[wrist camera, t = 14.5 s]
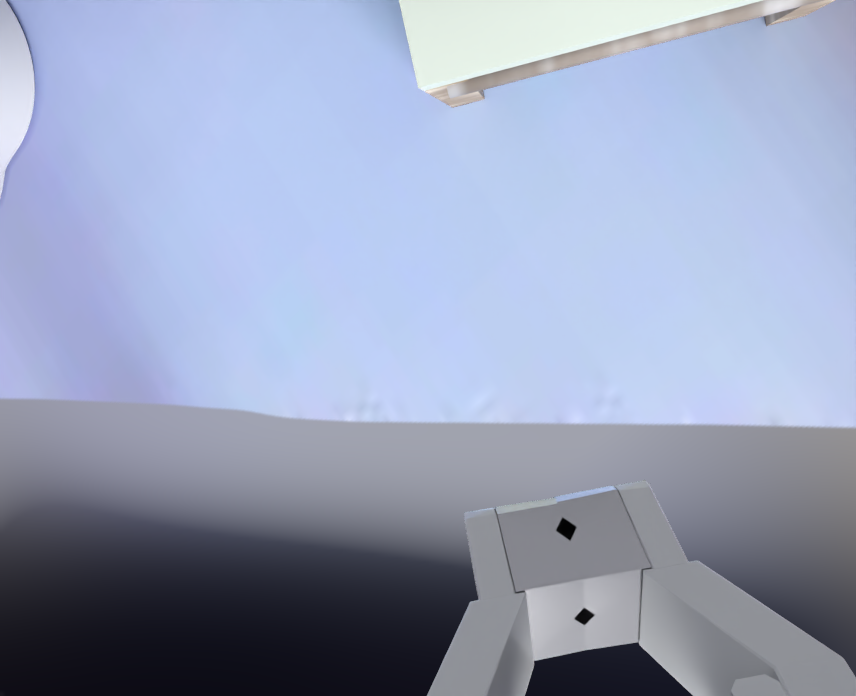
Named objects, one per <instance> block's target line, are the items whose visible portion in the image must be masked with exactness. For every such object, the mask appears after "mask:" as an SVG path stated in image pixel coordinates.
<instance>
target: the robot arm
mask: <svg viewBox="0 0 856 696" xmlns="http://www.w3.org/2000/svg"><path fill="white" fill-rule="evenodd" d="M34 94H35V83H34V71H33V64H32V59H31V55H30V51H29V47H28V44H27V41H26V38H25V35H24V33H23V30H22V28H21V26H20V24H19V22H18V20H17V18H16V16H15V14H14V13H13V11H12V9H11V8H10V6H9V5H8V3H7V2H6V0H0V197H1V193H2V188H3V182H4V175H5V170H6V167H7V165H8V163H9V162H10V160H11V158H12V157H13V155H14V154H15V152H16V151H17V149H18V148H19V146H20V144H21V143H22V141H23V139H24V137H25V135H26V132H27V129H28V127H29V124H30V120H31V116H32V111H33V105H34ZM464 519H465V520H464V521H465V526H466V532H467V537H468V543H469V549H470V555H471V560H472V566H473V571H474V577H475V582H476V588H477V593H478V599H479V600H477V601H472V602H470V604H469V606H468V608H467V610H466V612H465V615H464V617H463V619H462V621H461V623H460V625H459V628H458V630H457V632H456V634H455V636H454V638H453V641H452V643H451V645H450V647H449V649H448V651H447V654H446V656H445V658H444V660H443V662H442V664H441V667H440V669H439V671H438V674H437V675H436V678H435V680H434V682H433V684H432V686H431V688H430V690H429V693H428V695H427V696H525V692H526V689H527V686H528V683H529V679H530V676H531V673H532V670H533V666H534V661H535V660H540V659H545V658H550V657H555V656H559V655H564V654H569V653H574V652H578V651H583V650H589V649H595V648H602V647H609V646H615V645H621V644H628V643H634V642H639V645H640V646H641V647H642V648H643V649H644V650H646V651H647V652H648V653H649V654H650V655H651V656H652V657H653V658H654V659H655V660H656V661H657V662H658V663H659V664H661V666H662V667H664V668H665V669H666V670H667V671H668V672H669V673H670V674H671V675H672V676H673V677H674V678H675V679H676V680H677V681H678V682H679V683H681V685H683V686H684V687H685V688H686V689H687V690H688V691H689V692H690V693H691V694H692V695H693V696H856V678H855V676H854V674H853V673H852V671H851V670H850V668H849V666H848V665H847V663H846V662H845V660H844V658H842V657H841V656H840V655H838V654H836V653H835V652H834V651H832V650H830V649H829V648H828V647H826V646H824V645H823V644H822V643H820V642H819V641H817V640H815V639H814V638H813V637H811V636H810V635H808V634H807V633H805V632H803V631H802V630H801V629H799V628H798V627H796V626H795V625H793V624H792V623H790V622H788V621H787V620H786V619H784V618H783V617H781V616H780V615H778V614H777V613H775V612H774V611H772V610H771V609H769V608H768V607H766V606H765V605H763V604H762V603H760V602H759V601H757V600H756V599H754V598H753V597H751V596H750V595H748V594H747V593H745V592H744V591H742V590H741V589H739V588H738V587H737V586H735V585H734V584H732V583H731V582H729V581H728V580H726V579H725V578H723V577H722V576H720V575H718V574H717V573H716V572H714V571H713V570H711V569H709V568H708V567H707V566H705V565H704V564H702V563H701V562H699V561H692V562H688V560H687V558H686V556H685V554H684V552H683V550H682V548H681V546H680V544H679V542H678V540H677V538H676V536H675V534H674V532H673V530H672V528H671V526H670V524H669V522H668V520H667V518H666V516H665V514H664V512H663V510H662V508H661V506H660V504H659V502H658V500H657V498H656V496H655V494H654V492H653V490H652V488H651V486H650V485H649V484H648V483H647V482H646V481H645V480H643V481H638V482H632V483H627V484H621V485H616V486H614V487H613V486H608V487H602V488H597V489H592V490H588V491H582V492H577V493H572V494H567V495H562V496H557V497H553V498H551V499H545V500H538V501H532V502H526V503H520V504H512V505H506V506H500V507H495V509H494V508H489V509H483V510H477V511H471V512H465V513H464Z"/></svg>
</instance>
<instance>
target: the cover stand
mask: <svg viewBox="0 0 856 696" xmlns="http://www.w3.org/2000/svg"><path fill="white" fill-rule="evenodd" d="M833 1H835V0H763V1H759V2H755V3H752V4H748V5H744V6H740V7H737V8H733V9H729V10H726V11H722V12H718V13H714V14H711V15H707V16H703V17H699V18H696V19H692V20H688V21H684V22H681V23H677V24H673V25H669V26H666V27H662V28H658V29H654V30H651V31H647V32H643V33H639V34H636V35H632V36H628V37H624V38H621V39H617V40H613V41H609V42H606V43H602V44H598V45H594V46H591V47H587V48H583V49H579V50H576V51H572V52H568V53H564V54H561V55H557V56H553V57H549V58H546V59H542V60H538V61H534V62H531V63H527V64H523V65H519V66H516V67H512V68H508V69H504V70H501V71H497V72H493V73H489V74H486V75H482V76H478V77H474V78H471V79H467V80H463V81H459V82H456V83H452V84H448V85H444V86H441V87H437V88H433V89H429V90H426V91H425V92H426V93H428V94H430V95H432V96H433V97H435V98H437V99H439V100H440V101H442V102H444V103H446V104H447V105H449V106H451V107H457V106H460V105H464V104H468V103H472V102H476V101H480V100H483V99H485V98H484V93H483V90H485V89H488V88H492V87H496V86H500V85H504V84H508V83H511V82H515V81H519V80H523V79H527V78H530V77H534V76H538V75H542V74H546V73H549V72H553V71H557V70H561V69H565V68H569V67H572V66H576V65H580V64H584V63H588V62H591V61H595V60H599V59H603V58H607V57H610V56H614V55H618V54H622V53H626V52H629V51H633V50H637V49H641V48H645V47H649V46H652V45H656V44H660V43H664V42H668V41H671V40H675V39H679V38H683V37H687V36H690V35H694V34H698V33H702V32H706V31H709V30H713V29H717V28H721V27H725V26H729V25H732V24H736V23H740V22H744V21H748V20H751V19H755V18H759V17H763V16H765V20H766V26H768V25H772V24H776V23H780V22H784V21H788V20H792V19H795V18H799V17H803V16H806V15H808V14H810V13H812V12H814V11H816V10H817V9H819V8H821V7H823V6H825V5H827V4H829V3H831V2H833Z"/></svg>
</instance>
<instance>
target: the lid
mask: <svg viewBox="0 0 856 696" xmlns="http://www.w3.org/2000/svg"><path fill="white" fill-rule="evenodd" d="M759 1H763V0H399V3H400V8H401V12H402V17H403V21H404V26H405V30H406V35H407V39H408V44H409V48H410V53H411V57H412V62H413V66H414V71H415V75H416V80H417V84H418V88H419V89H421V90H423V91H426V90H429V89H433V88H437V87H441V86H444V85H448V84H452V83H456V82H459V81H463V80H467V79H471V78H474V77H478V76H482V75H486V74H489V73H493V72H497V71H501V70H504V69H508V68H512V67H516V66H519V65H523V64H527V63H531V62H534V61H538V60H542V59H546V58H549V57H553V56H557V55H561V54H564V53H568V52H572V51H576V50H579V49H583V48H587V47H591V46H594V45H598V44H602V43H606V42H609V41H613V40H617V39H621V38H624V37H628V36H632V35H636V34H639V33H643V32H647V31H651V30H654V29H658V28H662V27H666V26H669V25H673V24H677V23H681V22H684V21H688V20H692V19H696V18H699V17H703V16H707V15H711V14H714V13H718V12H722V11H726V10H729V9H733V8H737V7H740V6H744V5H748V4H752V3H755V2H759Z"/></svg>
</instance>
